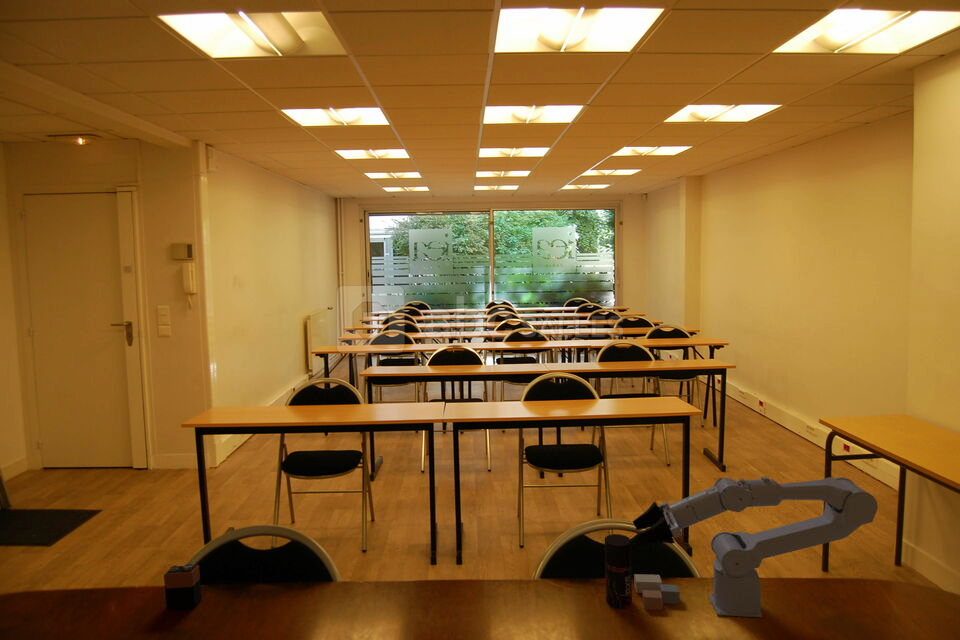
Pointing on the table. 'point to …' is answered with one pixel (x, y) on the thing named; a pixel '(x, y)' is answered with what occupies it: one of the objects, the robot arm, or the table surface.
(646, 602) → the terracotta brick
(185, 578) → the battery
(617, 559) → the deodorant
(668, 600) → the slate brick
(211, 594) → the table surface
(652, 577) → the cream brick
